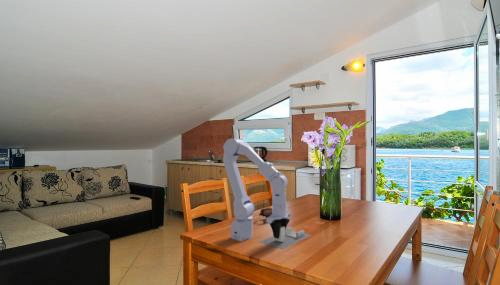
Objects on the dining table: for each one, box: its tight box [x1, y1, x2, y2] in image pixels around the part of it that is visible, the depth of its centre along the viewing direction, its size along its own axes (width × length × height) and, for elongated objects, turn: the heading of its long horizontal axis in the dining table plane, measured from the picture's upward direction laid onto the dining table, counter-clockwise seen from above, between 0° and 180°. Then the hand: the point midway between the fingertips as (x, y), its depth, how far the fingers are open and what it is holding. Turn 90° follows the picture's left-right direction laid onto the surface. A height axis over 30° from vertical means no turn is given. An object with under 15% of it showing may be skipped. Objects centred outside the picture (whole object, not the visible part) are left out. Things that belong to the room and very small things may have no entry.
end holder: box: [285, 226, 306, 239], centre depth 132 cm, size 6×8×2 cm
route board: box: [259, 230, 312, 250], centre depth 127 cm, size 22×12×1 cm, turn 138°
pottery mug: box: [258, 207, 272, 225], centre depth 157 cm, size 12×10×8 cm
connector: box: [272, 226, 285, 242], centre depth 124 cm, size 3×4×6 cm
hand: (278, 236), depth 124 cm, fingers closed on connector, 3 cm apart
